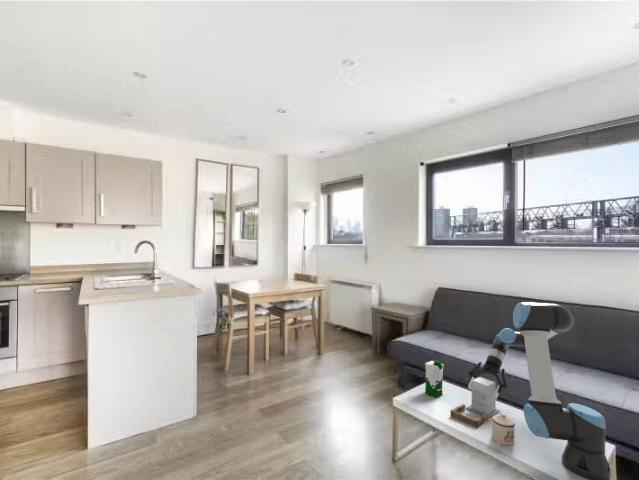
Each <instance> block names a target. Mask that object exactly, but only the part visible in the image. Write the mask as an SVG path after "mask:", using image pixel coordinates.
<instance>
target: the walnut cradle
mask: <svg viewBox="0 0 639 480" xmlns="http://www.w3.org/2000/svg"><path fill="white" fill-rule="evenodd" d="M465 410H466V405H465V404H464V403H462V404H460V405H458V406H456V407H455V408H452V409H451V410H450V418H453V419H456V420H458V421H459V422H461V423H465V424H466V425H469V426H471V427H473V428H474V429H478V428H479V427H480V426H482V425H484V424H485V423H487V422H488V421H489V418H488V416H489V414H484V415H483V416H482V415H480V417H478V418H476V419H474V418H471V417H469V416H467V415H465V414H463V413H464V412H465Z"/></svg>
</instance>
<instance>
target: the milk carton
mask: <svg viewBox="0 0 639 480" xmlns="http://www.w3.org/2000/svg"><path fill="white" fill-rule="evenodd" d="M424 365H425V366H424V367H425V388H424V389H425V390H424V394H425V395H428V396H430V397H432V398H434V399H437V398H439V397H441V396H443V372H444V365H445V364H443V363H442V361H441V360H439V359H435V360H430V361H427V362H425V363H424Z"/></svg>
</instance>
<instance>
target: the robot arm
mask: <svg viewBox="0 0 639 480" xmlns="http://www.w3.org/2000/svg"><path fill="white" fill-rule="evenodd" d="M574 322H575V321H574V316H573V315H572V313H571V312H570V310H569V309H567V308H566V307H564V306H563V305H561V304H556V303H544V302H531V301H528V302H518V303H517V304H516V305H515V307H514V309H513V313H512V323H513V327H514V328H516V329H518V330H519V331H514V330H513V329H511V328H508V327H506V328H505V327H504V328H503V329H501V330H500V331H499V333H498V334H496V336H495V337H494V340H493V342H492V346H491V349H490V350H489V353H488V356H487V358H486V360H485V363H482V362H481V361H480V362H478V364H477V365H476V366H475V367H473V368H472V369H471V370H470V371H469V372H468V373H467V375H468V376H469V379H468V382H469V383H468V386H467V388H468V389H469V390H470V391H472V380H474V379H476V378H478V377H481V376H482V375H485V374H488V375H491V376H494V377H495V378H496V380H497V382H498V385H496V386H497V387H496V391H495V394H494V397H495V399H496V400H498V398H499V394H502V393H503V389H506V390H507V389H508V382H507V378H506V370H505V369H504V368H502V369H501V367H502V365H503V361H504V359H505V356H506V353H507V351H508V349H509V348H510V347H511V346H512V347H516V346H517V347H525V354H526V355H525V356H526V363H527V369H528V377H529V378H528V379H529V385H530V393H531V395H530V396H529V398H528V399H527V400H528V401H527V403H525V404H524V405H523V416H524V420H525V422H526V425H527V428H528V430H529V431H530V432H531V433H532V434H533V436H536V437H538V438H544V439H553V440H561V441H567V442H566V445H565V447H564V449H563V452H562V454H561V462H562V464H563V465H564V466H565V468H567V469H568V470H569V471H571V472H572V473H574V474H576V475H577V476H579V477H583V478H585V479H588V480H611V478H612V470H611V467H610V464H609V462H608V459H607V456H606V430H607V426H606V419H605V417H604V416H603V415H602V414H601V413H600V412H598V411H597V410H595V409H593V408H590V407H588V406H586V405H583V404H580V403H576V402H575V403H574V402H571V403H568V404H567V406H566V407H563V405H562V402H561V401H560V400H559V399H558V398H557V394H556V388H555V387H556V386H555V381H554V375H553V369H552V361H551V355H550V349H549V348H550V347H549V343H548V341H549V340H550V339H551V338H553V337H554V336H557V335H558V334H564V333H567V332H568V331H569V330H571V329H572V327H573V326H574ZM498 373H500V375H501V378H502V381H501V379H500V377H499V375H498Z"/></svg>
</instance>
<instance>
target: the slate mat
mask: <svg viewBox="0 0 639 480" xmlns="http://www.w3.org/2000/svg"><path fill="white" fill-rule="evenodd" d="M471 406H472V404H470V405H469V406H467V407H465V410H468V411H471V412H473V413H475V414H478V415H480V416H483V415H484V414H485V413H482V412H480V411H477V410H475V409H473V408H471ZM500 411H501V410H499V409H498V408H496V410H495V411H493V412H491V413H490V414H489V416H488V419H492V417H493V416H494V415H498V413H500Z"/></svg>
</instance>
